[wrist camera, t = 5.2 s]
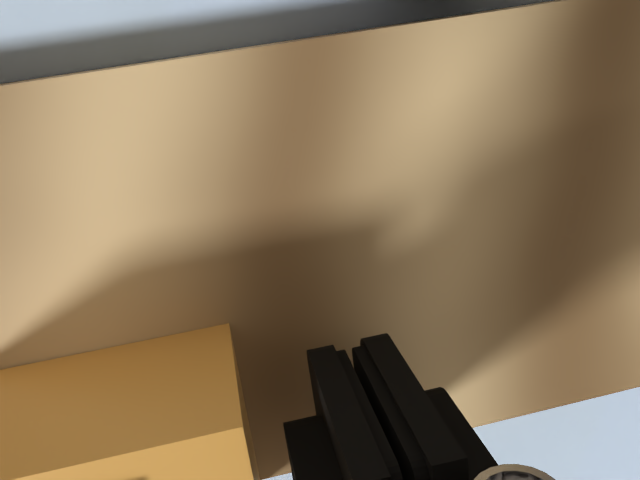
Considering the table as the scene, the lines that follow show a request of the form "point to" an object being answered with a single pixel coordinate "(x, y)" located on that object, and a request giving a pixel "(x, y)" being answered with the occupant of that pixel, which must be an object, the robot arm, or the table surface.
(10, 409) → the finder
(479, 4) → the table surface
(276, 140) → the board
